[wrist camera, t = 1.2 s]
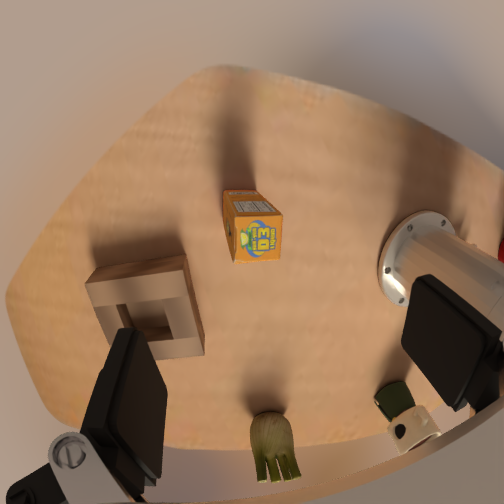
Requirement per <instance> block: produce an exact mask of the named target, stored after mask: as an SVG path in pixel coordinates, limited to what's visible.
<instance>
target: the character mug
mask: <svg viewBox="0 0 504 504" xmlns="http://www.w3.org/2000/svg"><path fill="white" fill-rule="evenodd" d="M376 399H377V401H378V402H379V405H377V403H376V402H375V401H374V402H375V404H376V405H377V407H378V408H379V409H380V411H381V412H382V413H383V415H384V416H385V417H386V418H387V420H388V421H389V422H391V423H390V424H389V426H388V428H387V429H388V434H389V436H390V437H391V438H392V439H393V441H394V443H395V447H396V449H397V451H398V452H399V454H400V455H402V454H405V453H407V452H409V451H411V450H413V449H415V448H417V447H419V446H421V445H423V444H425V443H427V442H429V441H431V440H433V439H435V438H437V437H439V436H441V431H440V429H439V428H438V426H437V425H436V423H435V422H434V420H433V419H432V417H431V416H430V414H429V413H428V411H427V410H426V408H425V407H424V406H423V405H418V406H416V405H415V402H414V399H413V397H412V395H411V393H410V391H409V389H408V387H407V385H406V383H405V382H397V383H393V384H391V385H388V386H386V387H385V388H383V389H382V390H381V391H380V392H379V393H378V394H377V396H376Z"/></svg>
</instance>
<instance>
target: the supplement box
mask: <svg viewBox="0 0 504 504" xmlns="http://www.w3.org/2000/svg"><path fill="white" fill-rule="evenodd" d="M282 221H283V215H282V214H281V213H280V212H279V211H278V210H277V209H276V208H275V207H274V206H273V205H272V204H271V203H269V202H268V201H267V200H266V199H265V198H264V197H263V196H262V195H261V194H260V193H258V192H257V191H256V190H224V192H223V224H224V229H225V233H226V238H227V242H228V246H229V250H230V254H231V257H232V260H233V263H234V264H241V263H248V262H257V261H268V260H279V259H280V251H281V237H282Z"/></svg>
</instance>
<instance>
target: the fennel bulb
mask: <svg viewBox="0 0 504 504" xmlns="http://www.w3.org/2000/svg"><path fill="white" fill-rule="evenodd" d="M250 442H251V447H252V452H253V455H254V459H255V464H256V472H257V480H258V482H261V483H262V482H263V483H264V482H266V481H267V473H266V463H267V466H268V470H269V474H270V479H271V482H272V483H278V482H280V481H281V477H280V473H279V469H278V466H277V462H276V459H277V460H278V463H279V466H280V470H281V472H282V476H283V478H284V481H285V482H287V481H290V480H291V477H292V479H293V480H296V479H299V478H301V473H300V471H299V468H298V465H297V462H296V459H295V454H294V442H293V434H292V429H291V425H290V423H289V421H288V420H287V419H286V418H285V417H284V416H283V415H282V414H280V413H277V412H265V413H261V414H259V415H258V416H256V417H255V418H254V419H253V421H252V424H251V427H250ZM289 472H290V473H289ZM290 474H291V476H290Z"/></svg>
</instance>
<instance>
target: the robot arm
mask: <svg viewBox="0 0 504 504" xmlns="http://www.w3.org/2000/svg"><path fill="white" fill-rule="evenodd" d="M378 278H379V283H380V287H381V289H382V291H383V293H384V294H385V296H386V297H387V298H388V299H389V300H390V301H391V302H393V303H394V304H396V305H398V306H402V307H408V310H407V315H406V320H405V325H404V329H403V334H402V338H401V344H402V347H403V349H404V350H405V351H406V352H407V354H408V355H409V356H410V357H411V359H412V360H413V361H414V362H415V364H416V365H417V366H418V368H419V369H420V370H421V371H422V373H423V374H424V375H425V377H426V378H427V379H428V381H429V382H430V383H431V384H432V386H433V387H434V388H435V390H436V391H437V392H438V394H439V395H440V396H441V398H442V399H443V400H444V402H445V403H446V404H447V405H448V406H451V407H452V408H453V410H454V411H455V412H457V411H458V410H460V409H462V408H463V407H465V406H466V405H467V403H469V404H470V405H471V406H470V417H469V419H468V420H466V421H465V422H463V423H461V424H460V425H458V426H456V427H455V428H453V429H451V430H450V431H448V432H446V433H444V434H443V435H441V436H439V437H437V438H435V439H433V440H431V441H429V442H427V443H425V444H423V445H421V446H419V447H417V448H415V449H413V450H411V451H409V452H407V453H405V454H402V455H400V456H398V457H396V458H393V459H391V460H389V461H386V462H384V463H381V464H379V465H376V466H373V467H371V468H368V469H365V470H363V471H360V472H357V473H354V474H351V475H348V476H345V477H341V478H338V479H335V480H332V481H328V482H325V483H321V484H317V485H313V486H309V487H305V488H301V489H297V490H292V491H287V492H282V493H277V494H271V495H265V496H258V497H251V498H245V499H244V498H243V499H235V500H223V501H212V502H193V503H150V502H149V501H148V500H147V499H146V498H145V497H144V495H143V493H144V486H156V478H158V479H159V478H161V473H162V456H163V442H164V429H165V417H166V407H167V397H168V394H167V388H166V385H165V383H164V381H163V378H162V376H161V374H160V372H159V369H158V367H157V365H156V362H155V360H154V357H153V355H152V352H151V350H150V348H149V345H148V342H147V340H146V337H145V335H144V333H143V331H138V329H137V328H136V327H127V328H119V329H118V331H117V333H116V336H115V338H114V341H113V343H112V346H111V349H110V351H109V354H108V356H107V359H106V362H105V364H104V367H103V369H102V370H101V371H100V373H99V375H98V378H97V381H96V384H95V387H94V389H93V392H92V395H91V398H90V401H89V404H88V407H87V410H86V414H85V417H84V420H83V423H82V427H81V430H80V433H77V432H67V433H64V434H61V435H60V436H58V437H57V438H56V439H55V440H54V441H53V442H52V443H51V445H50V448H49V450H48V459H49V463H47V464H46V465H44V466H42V467H41V468H39V469H38V470H36V471H34V472H33V473H31V474H30V475H28V476H26V477H24V478H23V479H21V480H19V481H17V482H16V483H14V484H13V485H12V486H11V487H10V488H9V490H8V492H7V495H6V504H504V263H502V262H501V261H499V260H497V259H496V258H494V257H492V256H491V255H489V254H487V253H485V252H484V251H482V250H480V249H479V248H477V246H476V245H475V244H470V243H468V242H466V241H464V240H462V239H460V238H459V237H457V236H456V234H455V230H454V228H453V226H452V224H451V222H450V221H449V220H448V219H447V218H446V217H444V216H443V215H441V214H439V213H437V212H434V211H428V210H427V211H420V212H417V213H414V214H412V215H410V216H409V217H407V218H406V219H404V220H403V221H402V222H401V223H400V224H399V225H398V226H397V227H396V228H395V229H394V231H393V232H392V233H391V235H390V236H389V238H388V240H387V241H386V243H385V246H384V248H383V250H382V253H381V257H380V261H379V268H378Z"/></svg>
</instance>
